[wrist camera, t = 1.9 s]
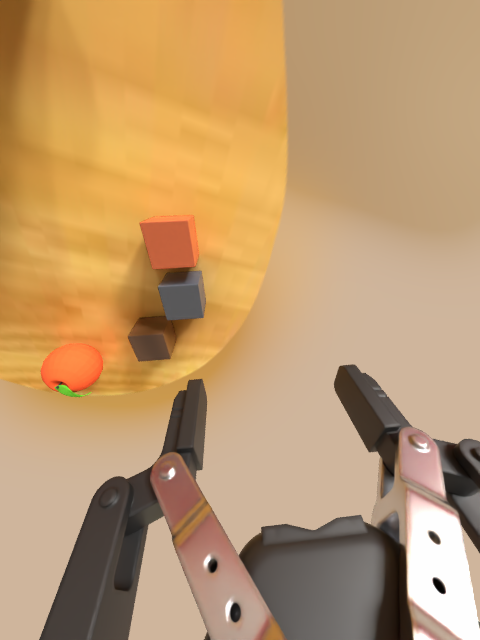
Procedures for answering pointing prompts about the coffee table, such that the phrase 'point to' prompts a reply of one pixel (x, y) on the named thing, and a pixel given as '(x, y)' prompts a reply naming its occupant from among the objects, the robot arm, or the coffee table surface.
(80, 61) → the coffee table surface
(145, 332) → the walnut block
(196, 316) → the slate block
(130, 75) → the coffee table surface
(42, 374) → the clementine
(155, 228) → the terracotta block
